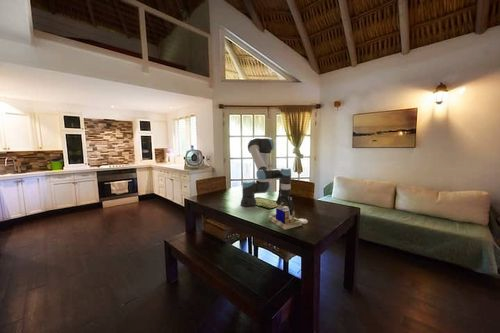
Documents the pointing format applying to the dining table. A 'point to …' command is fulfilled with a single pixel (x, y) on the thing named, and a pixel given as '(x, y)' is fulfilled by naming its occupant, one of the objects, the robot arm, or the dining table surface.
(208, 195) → the dining table surface
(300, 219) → the white round disc
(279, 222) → the light wood tray
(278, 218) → the puzzle cube
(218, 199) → the dining table surface
